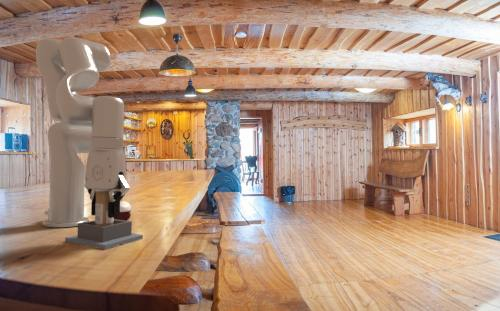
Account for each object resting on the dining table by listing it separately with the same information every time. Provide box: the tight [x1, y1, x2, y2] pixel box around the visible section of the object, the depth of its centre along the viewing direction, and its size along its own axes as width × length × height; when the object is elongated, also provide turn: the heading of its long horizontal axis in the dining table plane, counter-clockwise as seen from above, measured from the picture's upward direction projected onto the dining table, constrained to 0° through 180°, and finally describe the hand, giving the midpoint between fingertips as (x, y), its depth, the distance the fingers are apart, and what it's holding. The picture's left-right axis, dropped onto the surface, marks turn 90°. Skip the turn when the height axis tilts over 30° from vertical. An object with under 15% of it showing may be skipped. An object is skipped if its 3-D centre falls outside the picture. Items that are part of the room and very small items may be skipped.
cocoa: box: [114, 192, 132, 221], centre depth 111 cm, size 10×6×12 cm, turn 37°
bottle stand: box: [64, 219, 144, 250], centre depth 86 cm, size 14×12×4 cm
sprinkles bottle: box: [94, 188, 114, 226], centre depth 86 cm, size 5×5×14 cm
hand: (105, 215), depth 86 cm, fingers open, 5 cm apart
